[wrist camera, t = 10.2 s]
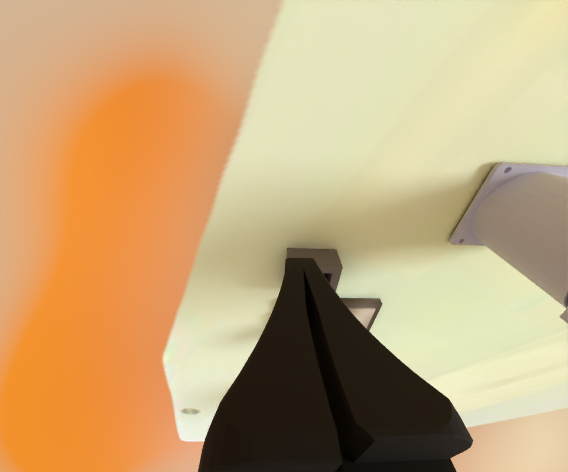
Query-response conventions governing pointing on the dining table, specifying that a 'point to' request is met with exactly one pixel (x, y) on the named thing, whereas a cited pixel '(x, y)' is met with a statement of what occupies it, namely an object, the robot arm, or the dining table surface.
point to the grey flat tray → (364, 309)
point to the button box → (321, 262)
